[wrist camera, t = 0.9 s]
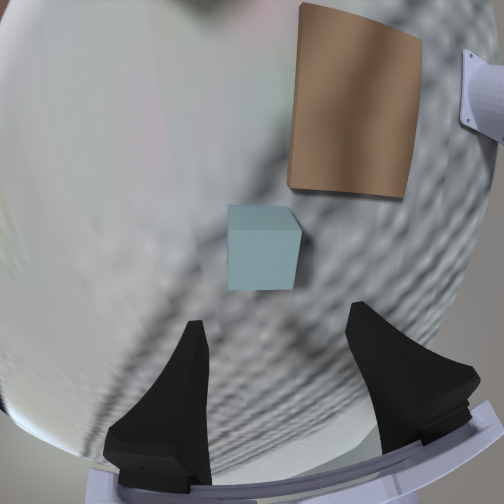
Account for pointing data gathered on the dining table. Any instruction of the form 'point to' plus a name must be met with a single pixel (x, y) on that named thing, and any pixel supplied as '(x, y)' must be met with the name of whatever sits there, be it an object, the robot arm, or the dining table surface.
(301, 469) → the dining table surface
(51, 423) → the dining table surface
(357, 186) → the walnut board
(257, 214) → the teal cube
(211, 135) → the dining table surface
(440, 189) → the dining table surface
